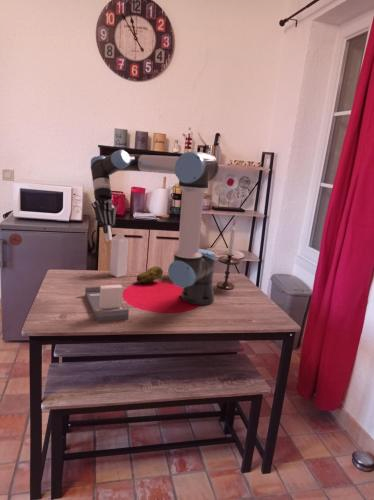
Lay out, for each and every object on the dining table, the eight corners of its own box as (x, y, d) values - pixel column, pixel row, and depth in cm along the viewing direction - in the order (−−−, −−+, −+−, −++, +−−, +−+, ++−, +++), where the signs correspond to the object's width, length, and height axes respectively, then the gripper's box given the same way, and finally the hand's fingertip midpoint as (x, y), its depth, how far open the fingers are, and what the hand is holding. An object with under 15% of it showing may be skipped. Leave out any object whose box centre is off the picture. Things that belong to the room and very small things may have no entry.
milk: (116, 277, 186) (119, 234, 180) (109, 273, 190) (111, 232, 184) (126, 275, 190) (129, 233, 185) (119, 271, 194) (121, 231, 188)
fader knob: (98, 307, 144) (99, 284, 141) (118, 306, 147) (120, 283, 145) (101, 313, 139) (102, 289, 137) (122, 311, 143) (123, 288, 140)
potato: (135, 278, 187) (137, 263, 185) (161, 279, 189) (162, 265, 187) (136, 284, 179) (137, 269, 177) (162, 285, 181) (164, 270, 179)
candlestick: (234, 292, 183) (244, 222, 174) (212, 287, 185) (221, 219, 176) (237, 285, 193) (247, 219, 184) (217, 281, 196) (225, 216, 187)
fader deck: (85, 295, 160) (85, 286, 159) (112, 293, 165) (113, 285, 164) (96, 322, 138) (97, 312, 136) (128, 319, 143) (128, 309, 142)
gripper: (107, 196, 172) (114, 244, 166) (85, 190, 161) (91, 241, 156) (119, 190, 168) (125, 239, 162) (96, 183, 157) (103, 236, 152)
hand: (108, 240), depth 159 cm, fingers closed
